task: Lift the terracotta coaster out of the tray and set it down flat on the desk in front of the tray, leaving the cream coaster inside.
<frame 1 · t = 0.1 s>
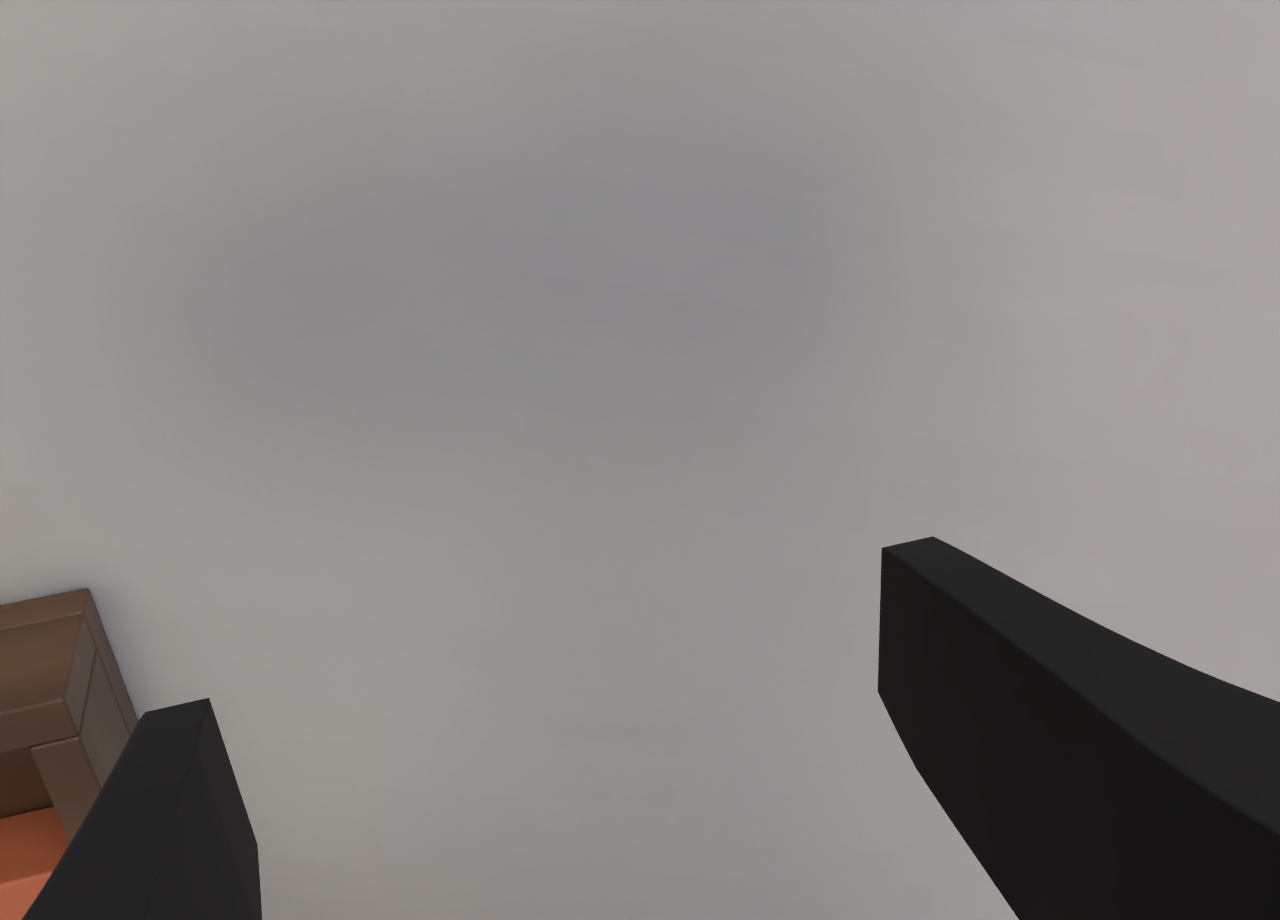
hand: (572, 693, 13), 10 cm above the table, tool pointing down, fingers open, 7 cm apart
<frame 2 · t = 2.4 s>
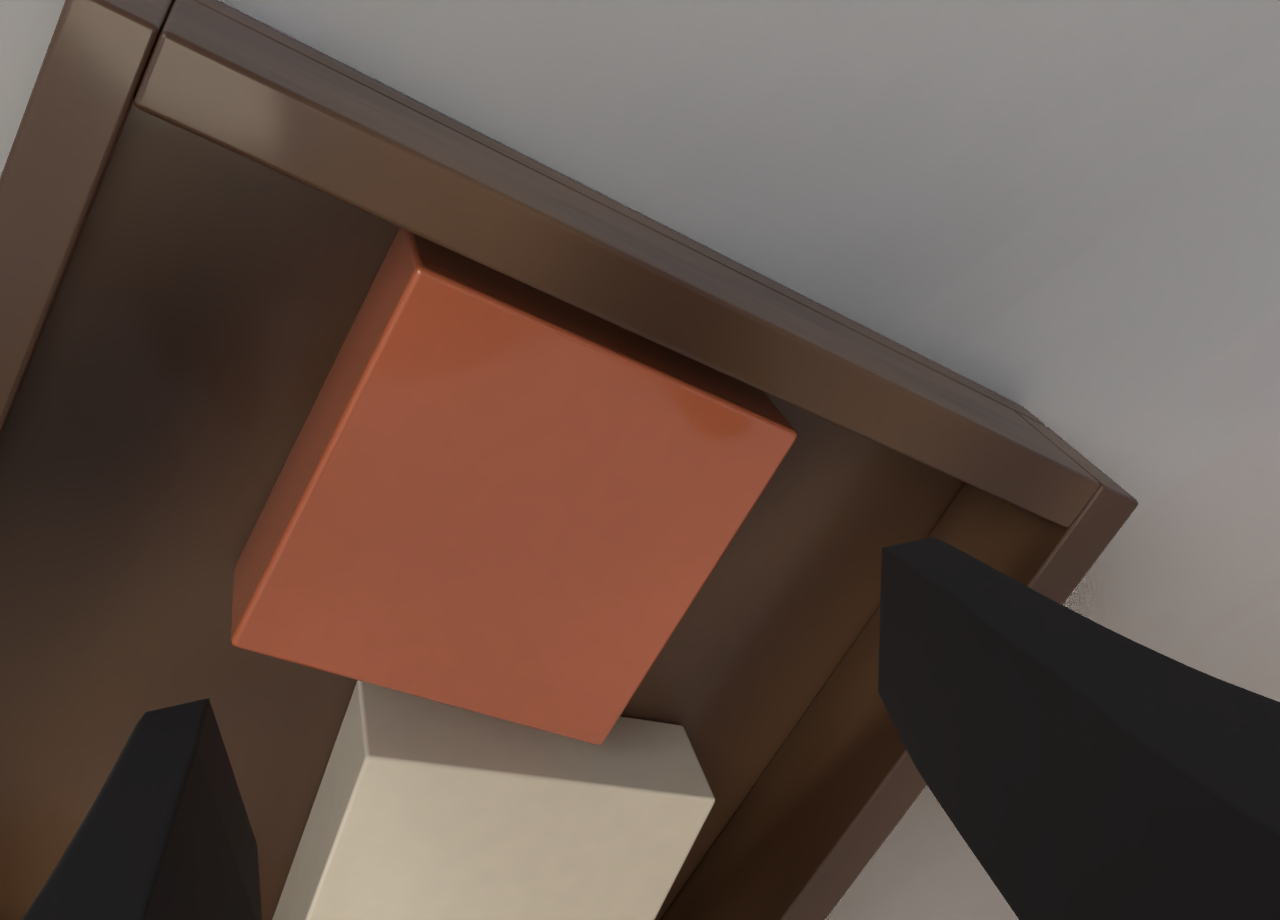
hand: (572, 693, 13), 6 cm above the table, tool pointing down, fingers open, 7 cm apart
terracotta coaster: (499, 472, 17), point 1 cm above the table, touching tray
tray: (424, 631, 19), on the table
cream coaster: (474, 831, 20), point 1 cm above the table, touching tray
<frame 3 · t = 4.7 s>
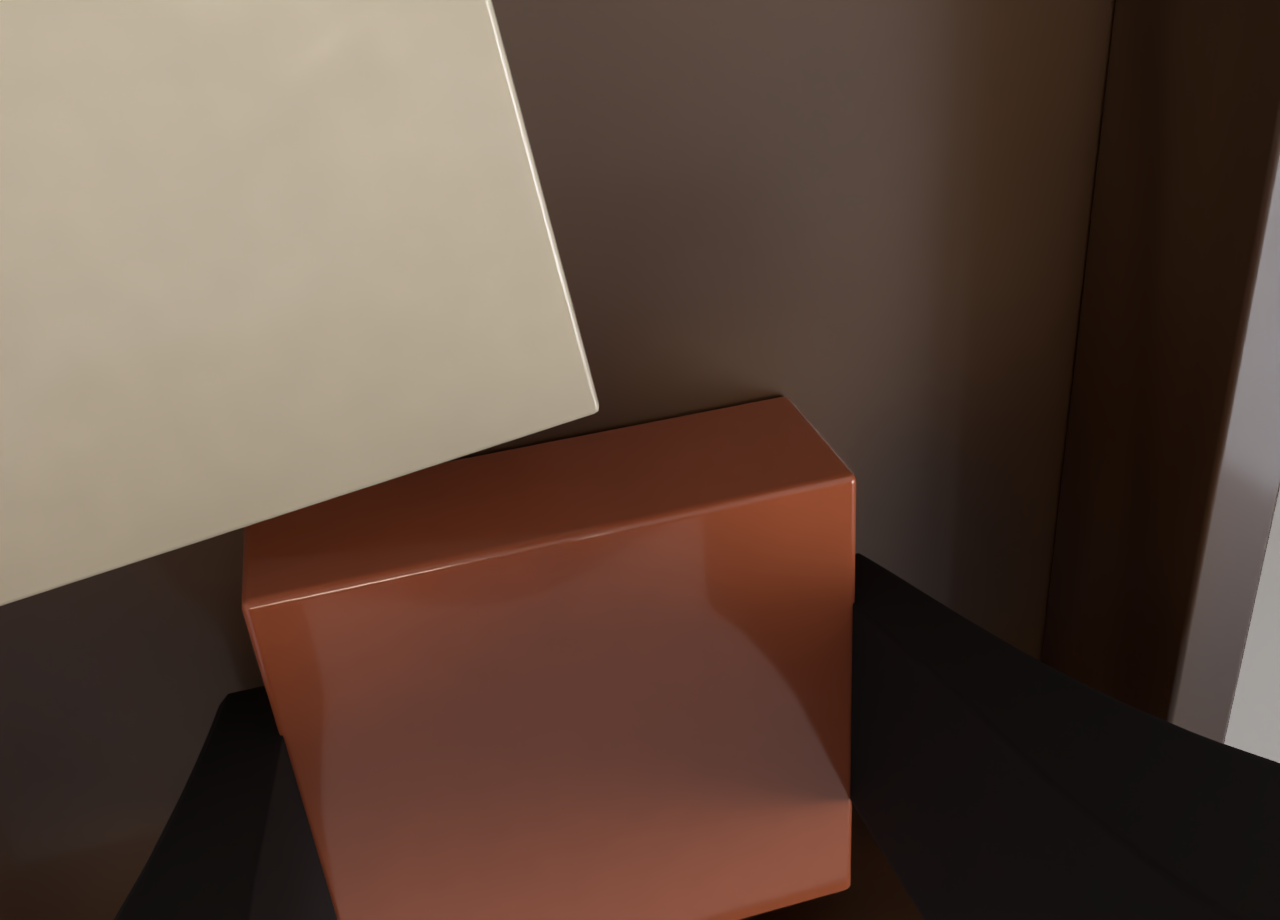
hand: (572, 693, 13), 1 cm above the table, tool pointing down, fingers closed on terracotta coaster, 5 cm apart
terracotta coaster: (557, 659, 13), point 1 cm above the table, touching tray, gripper
tray: (461, 367, 12), on the table
cream coaster: (151, 132, 10), point 1 cm above the table, touching tray
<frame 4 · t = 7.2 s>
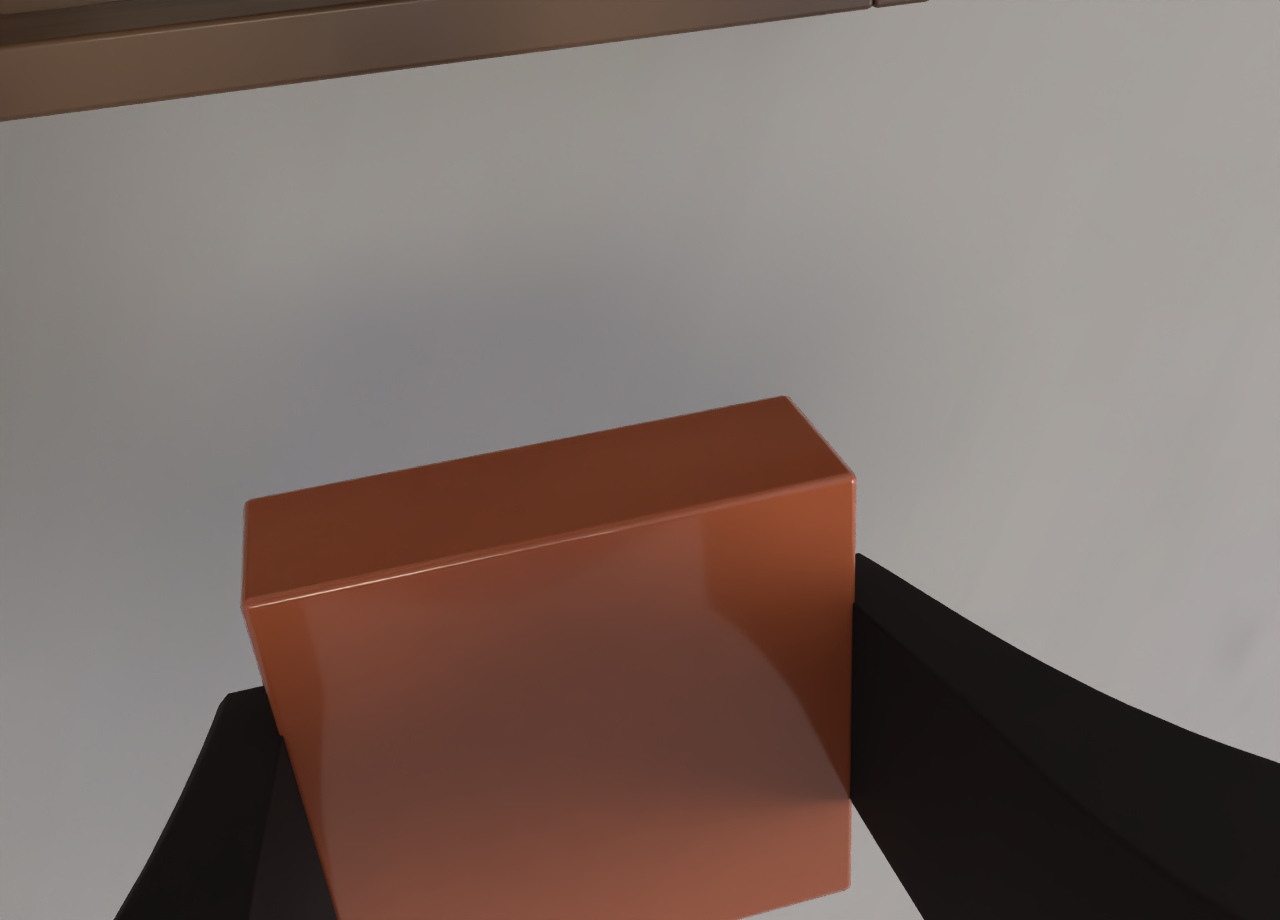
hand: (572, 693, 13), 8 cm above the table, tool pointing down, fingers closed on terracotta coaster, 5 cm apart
terracotta coaster: (557, 659, 13), point 8 cm above the table, touching gripper
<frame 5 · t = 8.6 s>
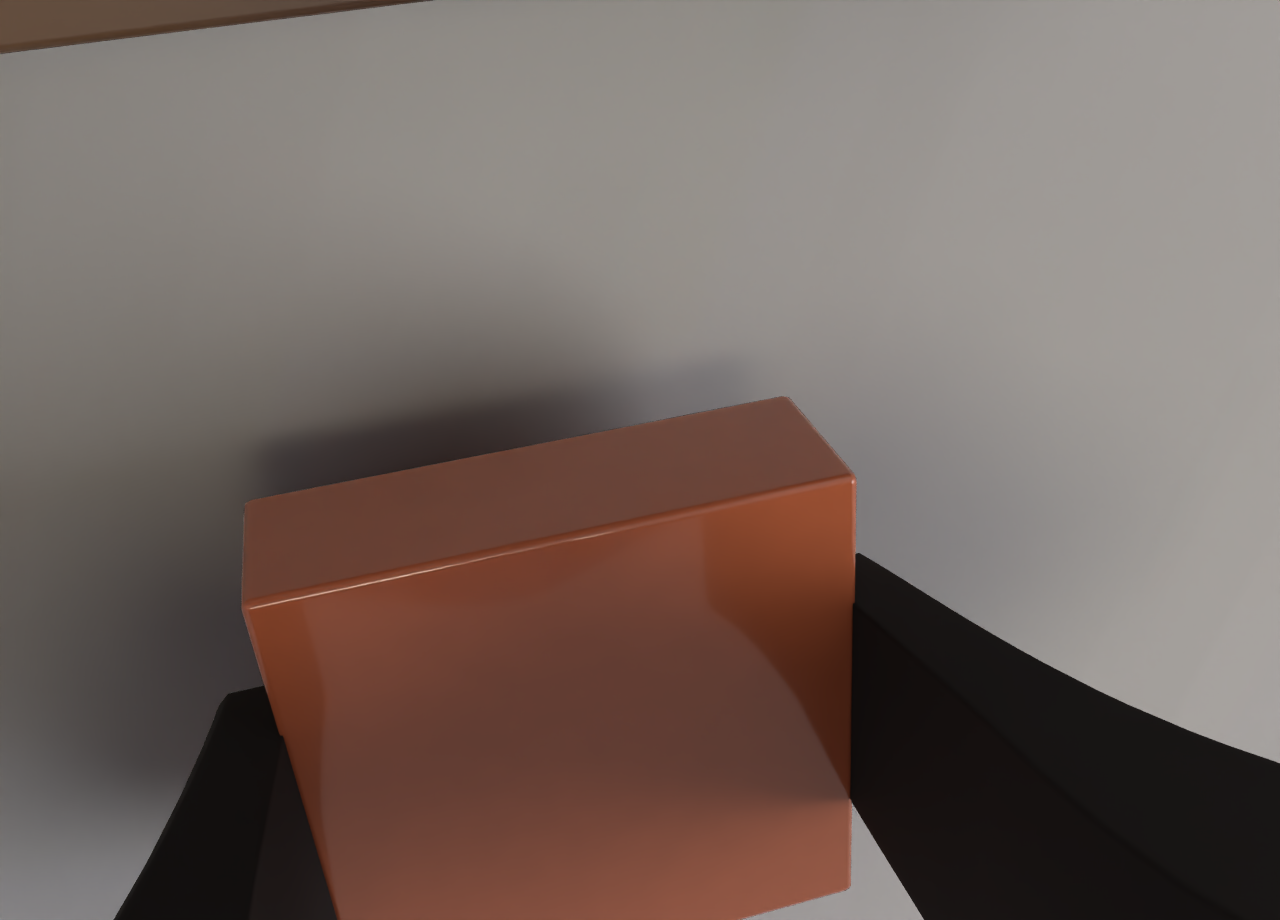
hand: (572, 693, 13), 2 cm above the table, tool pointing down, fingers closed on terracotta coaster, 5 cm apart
terracotta coaster: (557, 659, 13), point 1 cm above the table, touching gripper
when the fingers open (1 cm above the table, at t = 9.6 s): terracotta coaster stays where it is, on the table.
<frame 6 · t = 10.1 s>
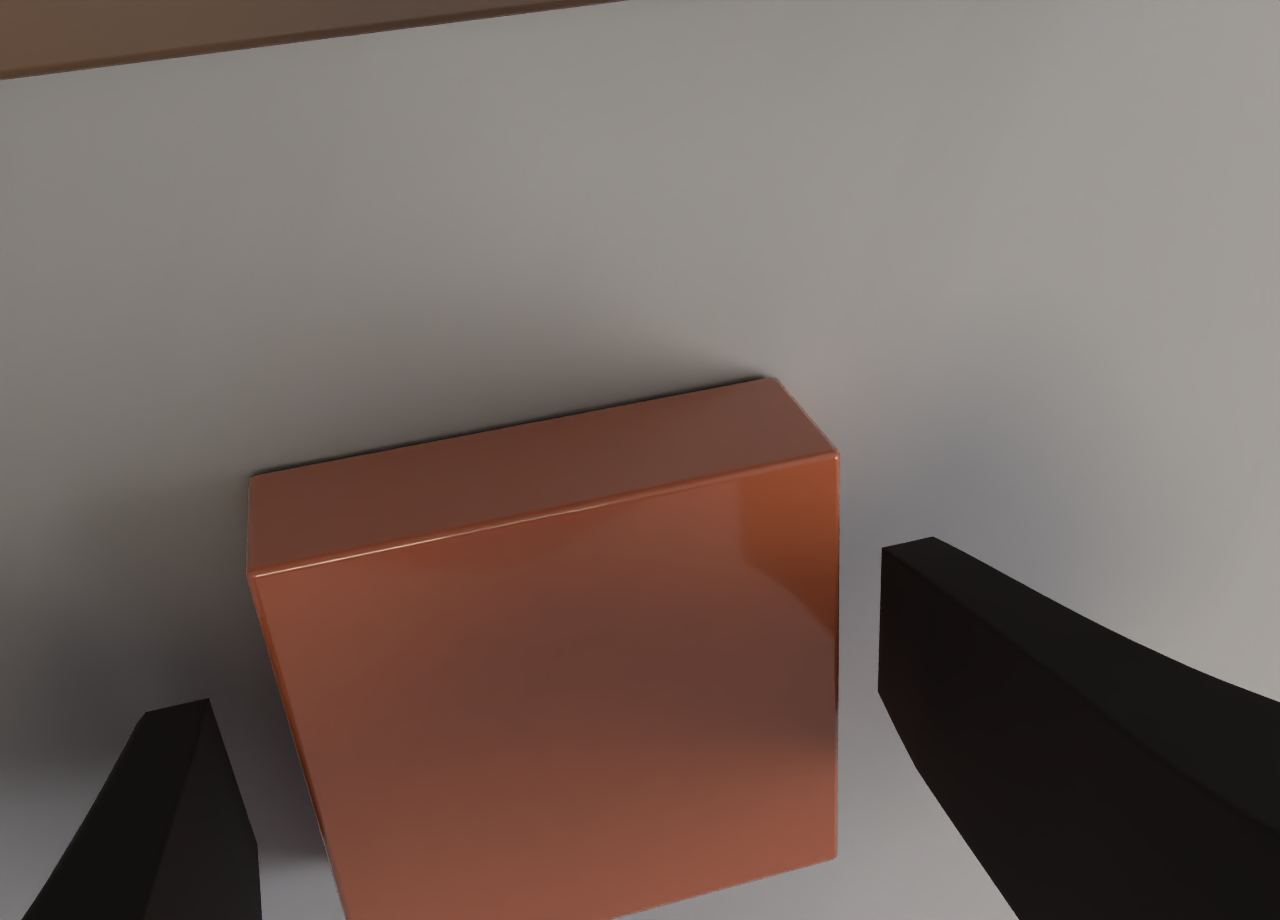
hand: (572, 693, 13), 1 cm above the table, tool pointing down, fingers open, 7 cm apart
terracotta coaster: (552, 634, 14), on the table
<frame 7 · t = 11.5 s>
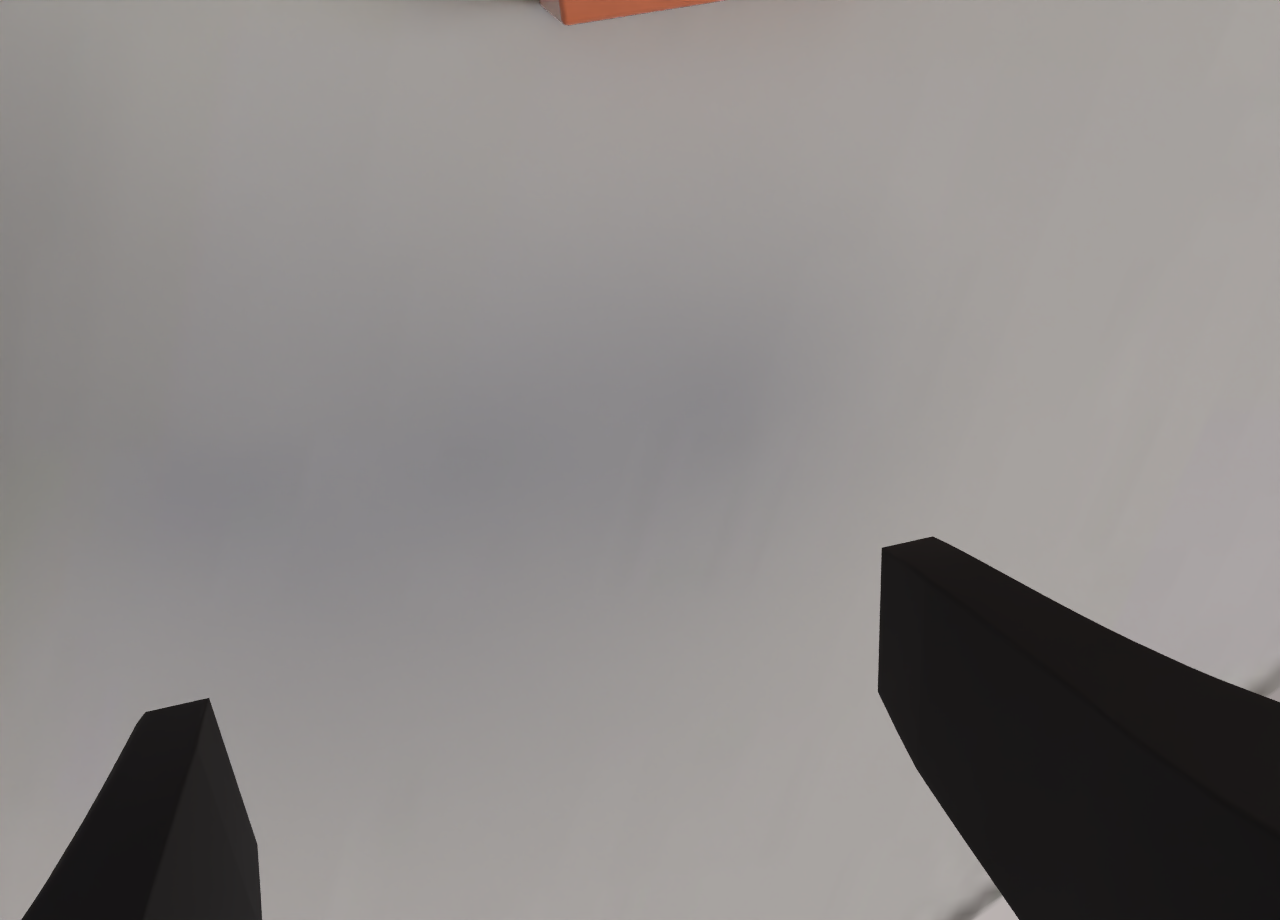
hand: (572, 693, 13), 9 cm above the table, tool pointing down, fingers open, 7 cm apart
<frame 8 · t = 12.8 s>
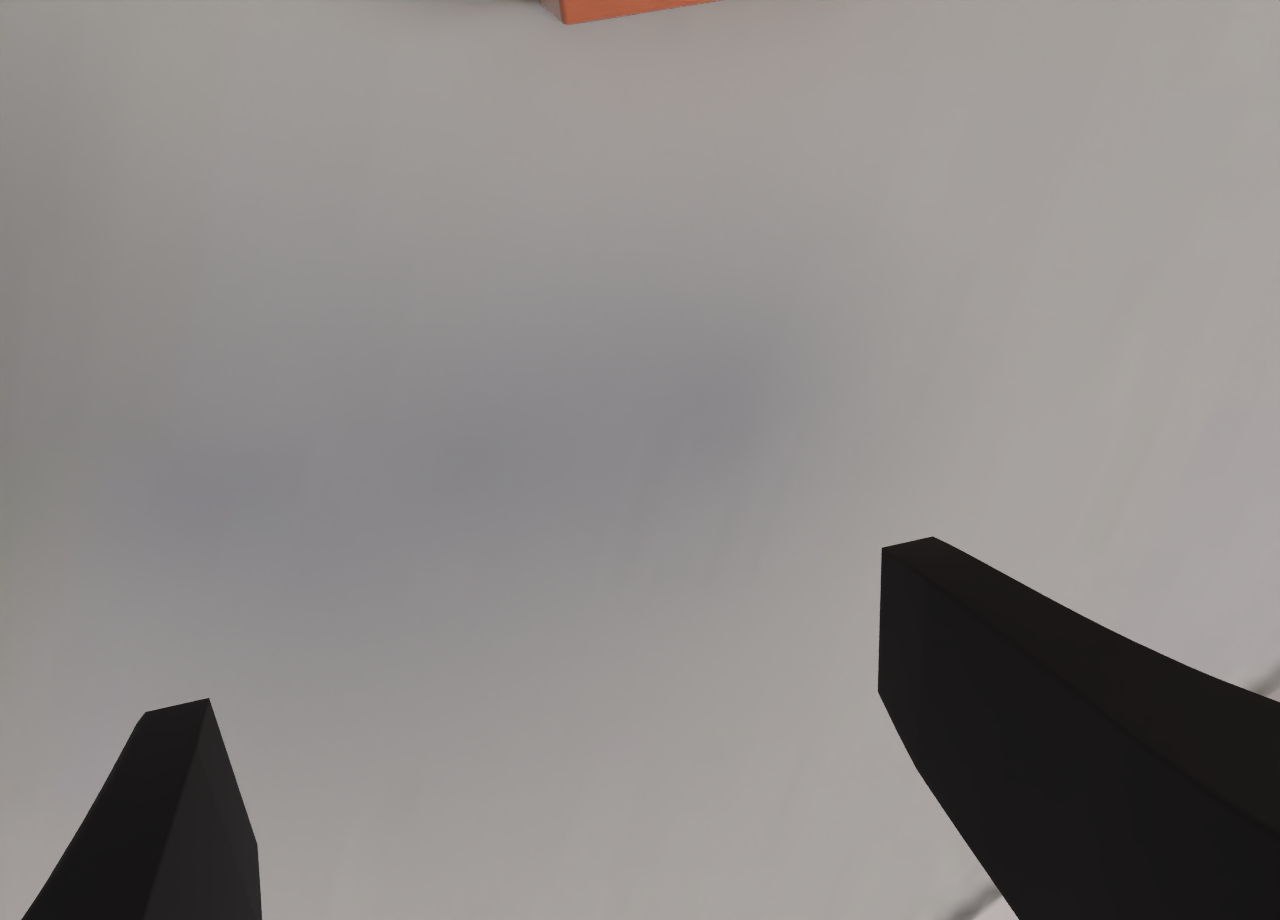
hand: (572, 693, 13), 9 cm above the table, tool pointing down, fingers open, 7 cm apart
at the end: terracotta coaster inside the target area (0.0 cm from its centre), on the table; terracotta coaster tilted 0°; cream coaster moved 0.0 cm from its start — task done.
